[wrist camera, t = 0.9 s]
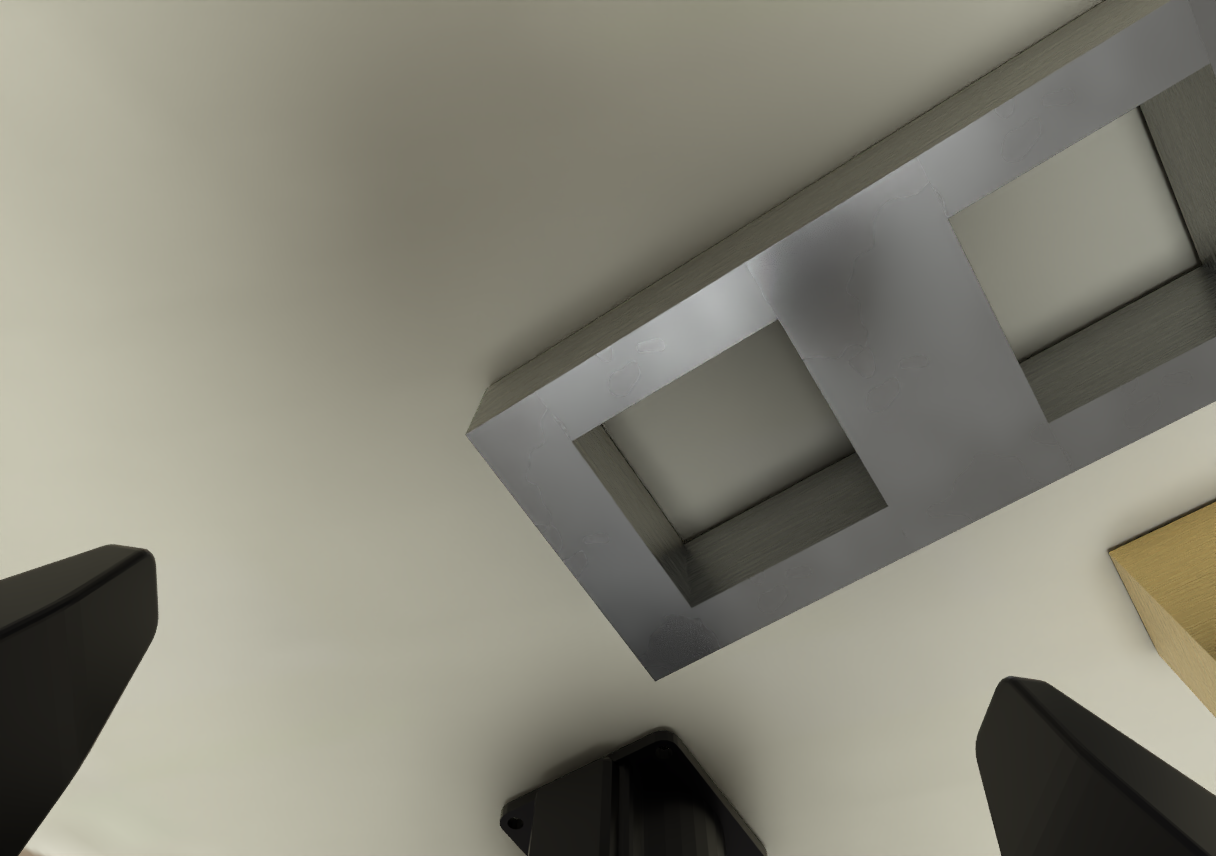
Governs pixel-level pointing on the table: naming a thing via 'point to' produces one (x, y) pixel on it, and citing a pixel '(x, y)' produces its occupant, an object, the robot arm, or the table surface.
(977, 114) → the grey slotted block
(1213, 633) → the brass block
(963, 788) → the table surface
